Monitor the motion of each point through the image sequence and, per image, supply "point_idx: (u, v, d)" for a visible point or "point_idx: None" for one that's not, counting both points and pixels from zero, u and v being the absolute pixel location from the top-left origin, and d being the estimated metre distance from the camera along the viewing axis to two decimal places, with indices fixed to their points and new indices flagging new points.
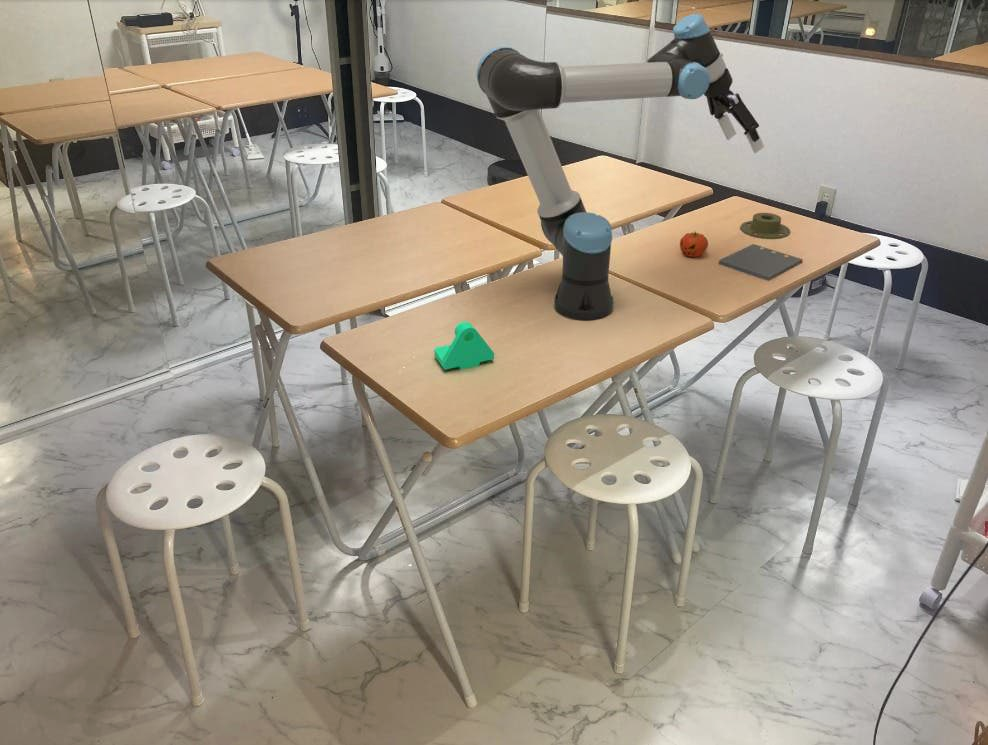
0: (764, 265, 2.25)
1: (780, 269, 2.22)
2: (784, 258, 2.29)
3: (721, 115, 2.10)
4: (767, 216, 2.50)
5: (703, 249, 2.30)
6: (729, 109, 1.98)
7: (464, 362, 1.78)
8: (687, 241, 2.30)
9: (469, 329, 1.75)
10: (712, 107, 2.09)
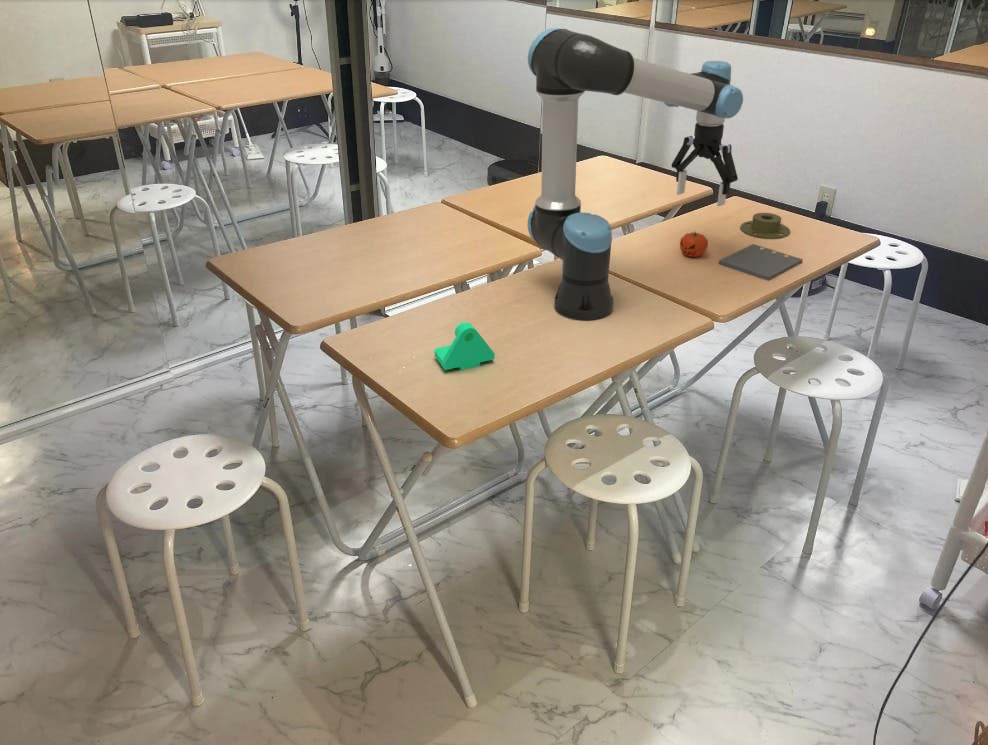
0: (764, 265, 2.25)
1: (780, 269, 2.22)
2: (784, 258, 2.29)
3: (682, 169, 2.26)
4: (767, 216, 2.50)
5: (703, 249, 2.30)
6: (715, 157, 2.15)
7: (465, 363, 1.78)
8: (687, 241, 2.30)
9: (469, 329, 1.74)
10: (679, 158, 2.24)
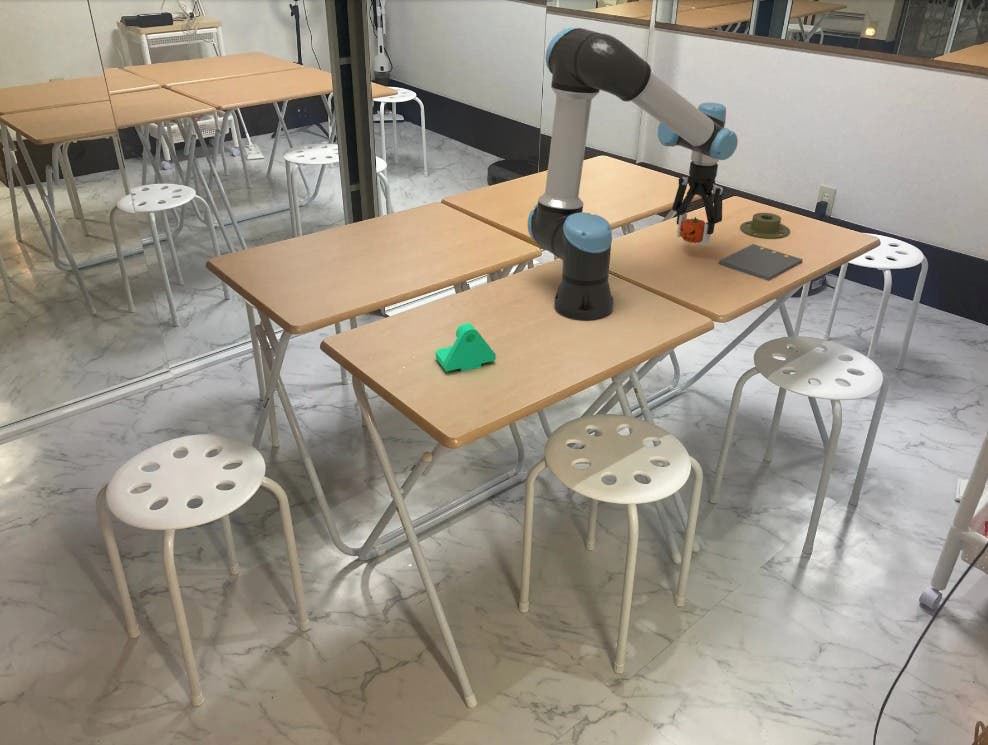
0: (764, 265, 2.25)
1: (780, 269, 2.22)
2: (784, 258, 2.29)
3: (683, 212, 2.31)
4: (767, 216, 2.50)
5: None
6: (706, 197, 2.22)
7: (466, 364, 1.78)
8: (687, 226, 2.27)
9: (470, 330, 1.74)
10: (678, 200, 2.29)
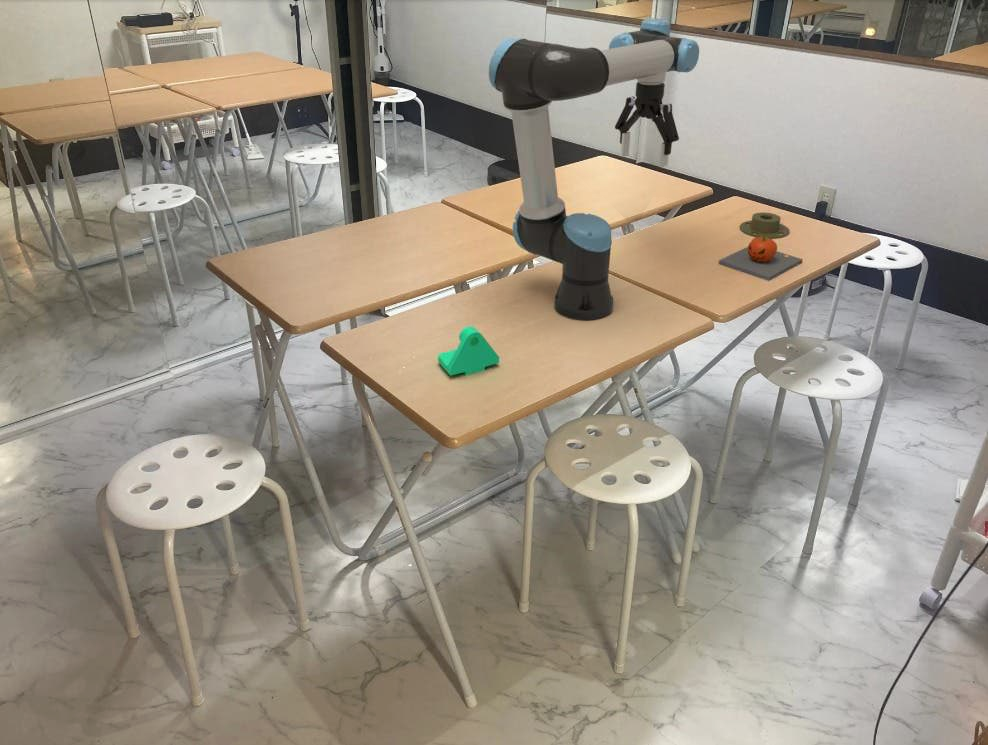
0: (764, 265, 2.25)
1: (780, 269, 2.22)
2: (784, 258, 2.29)
3: (625, 131, 2.25)
4: (766, 216, 2.50)
5: (773, 254, 2.24)
6: (656, 117, 2.14)
7: (470, 367, 1.76)
8: (756, 246, 2.23)
9: (474, 334, 1.73)
10: (622, 120, 2.23)
